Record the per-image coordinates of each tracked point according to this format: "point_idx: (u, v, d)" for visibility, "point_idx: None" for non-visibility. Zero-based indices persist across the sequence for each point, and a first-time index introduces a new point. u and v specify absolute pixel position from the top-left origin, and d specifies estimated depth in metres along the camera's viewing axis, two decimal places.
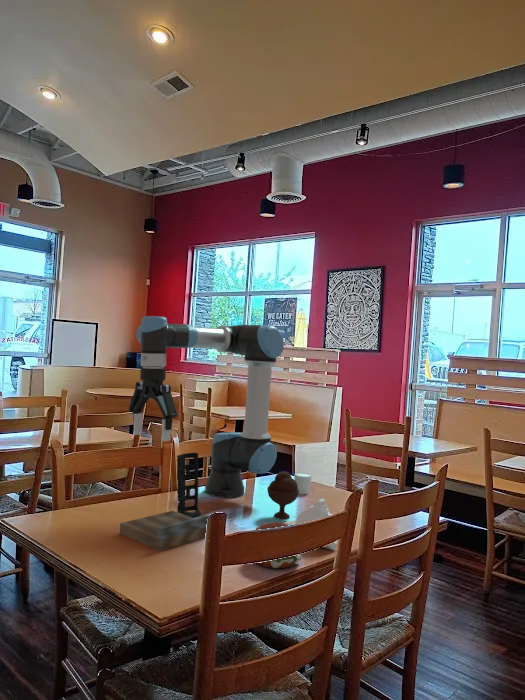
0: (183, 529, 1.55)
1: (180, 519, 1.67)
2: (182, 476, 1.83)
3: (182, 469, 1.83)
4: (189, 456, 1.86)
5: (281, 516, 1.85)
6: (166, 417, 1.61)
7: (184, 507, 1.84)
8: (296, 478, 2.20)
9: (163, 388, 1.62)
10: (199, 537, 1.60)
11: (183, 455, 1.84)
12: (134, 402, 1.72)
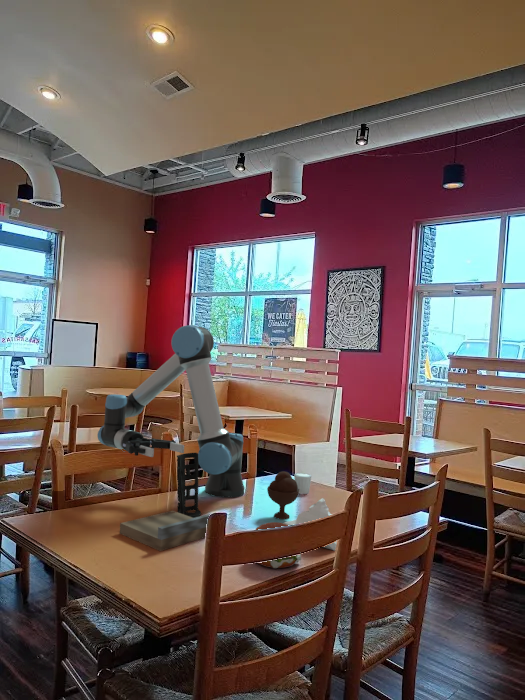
0: (183, 529, 1.55)
1: (180, 519, 1.67)
2: (182, 476, 1.83)
3: (182, 469, 1.83)
4: (189, 456, 1.86)
5: (281, 516, 1.85)
6: (135, 453, 1.86)
7: (184, 507, 1.84)
8: (296, 478, 2.20)
9: None
10: (199, 537, 1.60)
11: (183, 455, 1.84)
12: None
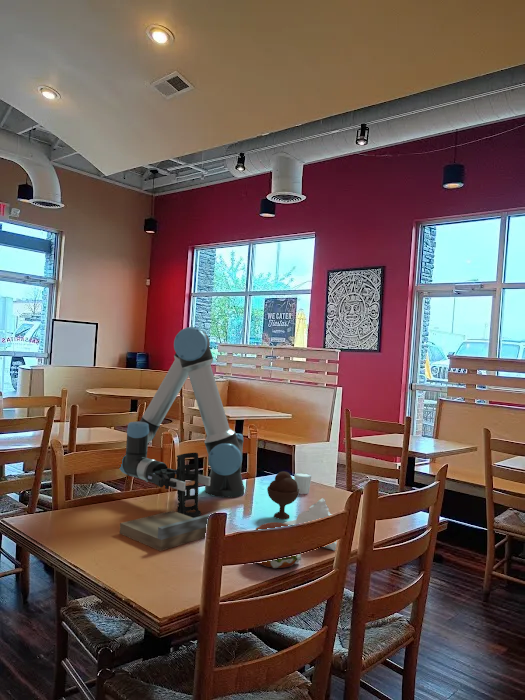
0: (183, 529, 1.55)
1: (180, 519, 1.67)
2: (182, 476, 1.83)
3: (182, 469, 1.83)
4: (189, 456, 1.85)
5: (281, 516, 1.85)
6: (165, 486, 1.78)
7: (184, 507, 1.84)
8: (296, 478, 2.20)
9: (149, 480, 1.84)
10: (199, 537, 1.60)
11: (183, 455, 1.84)
12: None
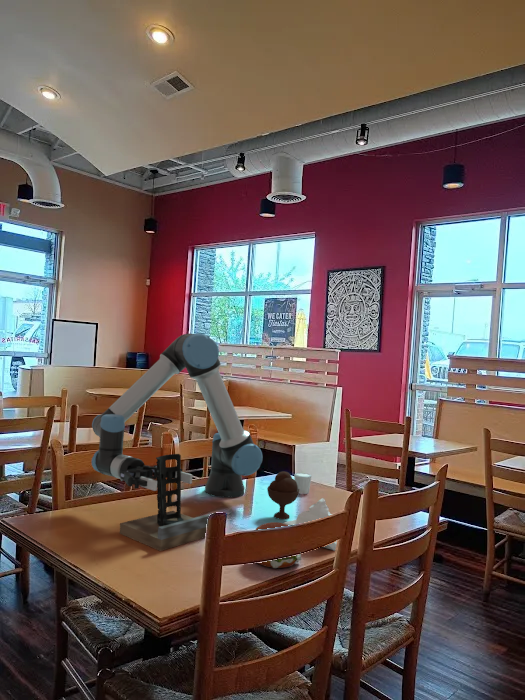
0: (183, 529, 1.55)
1: None
2: (162, 480, 1.63)
3: (162, 472, 1.64)
4: (170, 458, 1.66)
5: (281, 516, 1.85)
6: (135, 486, 1.59)
7: (165, 515, 1.64)
8: (296, 478, 2.20)
9: None
10: (199, 537, 1.60)
11: (164, 457, 1.64)
12: None
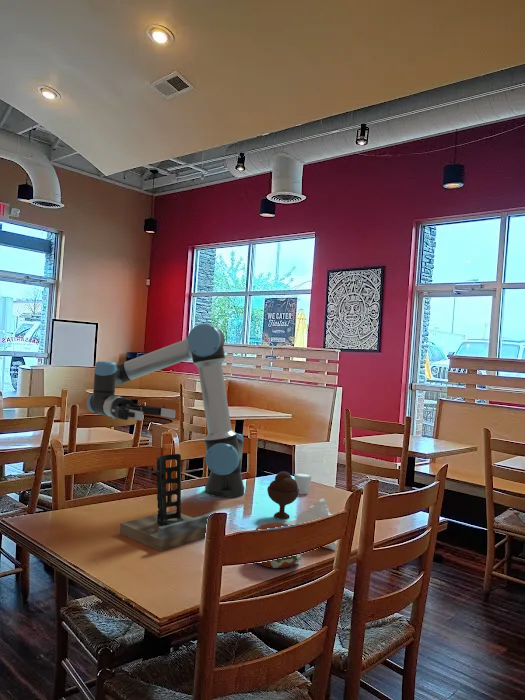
0: (183, 529, 1.55)
1: None
2: (163, 480, 1.63)
3: (163, 472, 1.64)
4: (170, 458, 1.66)
5: (281, 516, 1.85)
6: (124, 417, 1.80)
7: (165, 515, 1.64)
8: (296, 478, 2.20)
9: (113, 413, 1.87)
10: (199, 537, 1.60)
11: (164, 457, 1.64)
12: None
